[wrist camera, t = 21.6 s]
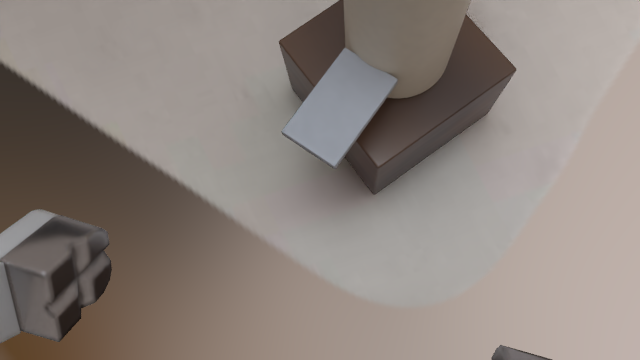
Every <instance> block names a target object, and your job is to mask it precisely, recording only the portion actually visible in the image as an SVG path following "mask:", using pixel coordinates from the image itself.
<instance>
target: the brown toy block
mask: <svg viewBox="0 0 640 360" xmlns="http://www.w3.org/2000/svg"><path fill="white" fill-rule="evenodd" d="M279 44H280V48H281V51H282V55H283V58H284V62H285V65H286V69H287V72H288V75H289V79H290V82H291V86H292V89H293V90H294V91H295V93H296V94H297V95H298V97H299V98H300V99H301V100H302V102H304V101H305V99H306V98H307V97H308V95H309V94H310V93H311V91H312V90H313V89H314V87H315V86H316V85H317V84H318V82H319V81H320V80H321V78H322V77H323V76H324V74H325V73H326V72H327V70H328V69H329V68H330V66H331V65H332V64H333V62H334V61H335V60H336V58H337V57H338V56H339V54H340V53H341V52H342V50H343V49H344V48H346V47H345V23H344V0H339V1H338V2H336V3H335V4H333V5H332V6H331V7H329V8H328V9H326V10H325V11H323V12H322V13H320V14H319V15H317V16H316V17H314V18H313V19H311V20H310V21H308V22H307V23H305V24H304V25H302V26H301V27H299V28H298V29H296V30H295V31H293V32H292V33H290V34H289V35H287V36H286V37H284V38H283V39H281V40H280V41H279ZM515 71H516V68H515V67H514V66H513V64H512V63H511V62H510V61H509V60H508V59H507V58H506V57H505V56H504V55H503V54H502V53H501V52H500V50H499V49H498V48H497V47H496V46H495V45H494V44H493V43H492V42H491V41H490V40H489V39H488V38H487V36H486V35H485V34H484V33H483V32H482V31H481V30H480V29H479V28H478V27H477V26H476V25H475V24H474V22H473V21H472V20H471V19H470V18H469V17H468V16H467V15H465V18H464V20H463V23H462V26H461V29H460V31H459V34H458V37H457V39H456V42H455V45H454V48H453V50H452V53H451V56H450V58H449V61H448V64H447V66H446V69H445V71H444V73H443V75H442V76H441V78H440V79H439V80H438V81H437V82H436V83H435V84H434V85H433V86H432V87H431V88H429V89H428V90H426V91H424V92H423V93H421V94H418V95H415V96H412V97H408V98H386V100H385V101H384V103H383V104H382V105H381V107H380V108H379V109H378V111H377V112H376V114H375V115H374V116H373V118H372V119H371V121H370V122H369V123H368V125H367V126H366V127H365V129H364V130H363V132H362V133H361V134H360V136H359V137H358V138H357V140H356V141H355V143H354V144H353V145H352V147H351V148H350V150H349V151H348V152H347V154H346V155H345V158H346V159H347V160H348V162H349V163H350V164H351V166H352V167H353V168H354V169H355V171H356V172H357V173H358V175H359V176H360V177H361V179H362V180H363V181H364V182H365V184H366V185H367V186H368V188H369V189H370V190H371V192H372V193H373V194H376V193H378V192H379V191H380V190H382V189H383V188H384V187H386V186H387V185H389V184H390V183H391V182H393V181H394V180H396V179H397V178H398V177H400V176H401V175H403V174H404V173H405V172H407V171H408V170H409V169H411V168H412V167H414V166H415V165H416V164H418V163H419V162H421V161H422V160H423V159H425V158H426V157H428V156H429V155H430V154H432V153H433V152H434V151H436V150H437V149H439V148H440V147H441V146H443V145H444V144H446V143H447V142H448V141H450V140H451V139H453V138H454V137H455V136H457V135H458V134H459V133H461V132H462V131H464V130H465V129H466V128H468V127H469V126H471V125H472V124H473V123H475V122H476V121H478V120H479V119H480V118H482V117H483V116H485V115H486V114H487V113H488V112H489V110H490V109H491V107H492V106H493V104H494V103H495V101H496V100H497V98H498V97H499V95H500V94H501V92H502V91H503V89H504V88H505V86H506V85H507V83H508V82H509V80H510V79H511V77H512V76H513V74H514V73H515Z"/></svg>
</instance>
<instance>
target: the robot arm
mask: <svg viewBox="0 0 640 360" xmlns="http://www.w3.org/2000/svg"><path fill="white" fill-rule="evenodd" d="M108 245H109V239H108V232H107V231H105V230H104V229H102V228H99V227H96V226H93V225H90V224H87V223H84V222H80V221H77V220H74V219H71V218H68V217H65V216H62V215H57V214H54V213H51V212H48V211H45V210H42V209H38V210H33V211H31V212H30V213H28V214H27V215H25V216H24V217H23V218H21V219H20V220H19V221H17V222H16V223H14V224H13V225H12V226H10V227H9V228H8V229H6V230H5V231H4V232H2V233H1V234H0V343H2V342H4V341H6V340H8V339H10V338H12V337H14V336H16V335H18V334H19V333H21V332H20V331H23V332H27V333H30V334H34V335H37V336H40V337H44V338H47V339H50V340H54V341H57V342H60V341H61V339H62V338H63V337H64V336H65V335H66V334H67V333H68V332H69V331H70V330H71V328H72V327H73V326H74V325H75V324H76V323H77V322H78V321H79V320H80V319H81V308H83V307H86V306H88V305H91V304H93V303H95V302H96V301H97V300H98V299H99V297H100V296H101V295H102V294H103V293H104V291H105V289H106V286H107V285H108V282H109V280H110V276H111V270H112V269H111V260H110V259H109V257H108V256H107V254H106V253H105V252H104V249H105V248H106V247H107V246H108ZM492 360H552V359H548V358H545V357H541V356H537V355H534V354H531V353H527V352H523V351H520V350H516V349H513V348H510V347H506V346H502V345H500V346H499V347H498V348H497V349H496V351H495V353H494V355H493V356H492Z"/></svg>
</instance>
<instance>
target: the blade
mask: <svg viewBox="0 0 640 360" xmlns="http://www.w3.org/2000/svg"><path fill="white" fill-rule="evenodd" d="M470 1H471V0H344V23H345V47H346V48H344V49H343V50H342V52H341V53H340V54H339V56H338V57H337V58H336V60H335V61H334V62H333V64H332V65H331V66H330V68H329V69H328V70H327V72H326V73H325V74H324V76H323V77H322V78H321V80H320V81H319V82H318V84H317V85H316V86H315V87H314V89H313V90H312V91H311V93H310V94H309V95H308V97H307V98H306V99H305V101H304V102H303V103H302V105H301V106H300V107H299V109H298V110H297V111H296V113H295V114H294V115H293V117H292V118H291V119H290V121H289V122H288V123H287V124H286V126H285V127H284V128H283V130H282V134H283V135H284V136H285V137H287V138H288V139H290V140H291V141H293V142H294V143H296V144H297V145H299V146H300V147H302V148H303V149H305V150H306V151H308V152H309V153H311V154H312V155H314V156H315V157H317V158H319V159H320V160H322V161H323V162H325V163H326V164H328V165H329V166H331V167H332V168H334V169H336V168H337V166H338V165H339V163H340V162H341V161H342V159H343V158H344V156H345V155H346V154H347V152H348V151H349V150H350V148H351V147H352V145H353V144H354V143H355V141H356V140H357V138H358V137H359V136H360V134H361V133H362V132H363V130H364V129H365V127H366V126H367V125H368V123H369V122H370V121H371V119H372V118H373V116H374V115H375V114H376V112H377V111H378V109H379V108H380V107H381V105H382V104H383V103H384V101H385V100H386V98H408V97H412V96H415V95H418V94H421V93H423V92H424V91H426V90H428V89H429V88H431V87H432V86H433V85H434V84H435V83H436V82H437V81H438V80H439V79H440V78H441V76H442V75H443V73H444V71H445V69H446V66H447V64H448V61H449V58H450V56H451V53H452V50H453V48H454V45H455V42H456V39H457V37H458V34H459V31H460V29H461V26H462V23H463V20H464V18H465V15H466V12H467V10H468V7H469V4H470Z"/></svg>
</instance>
